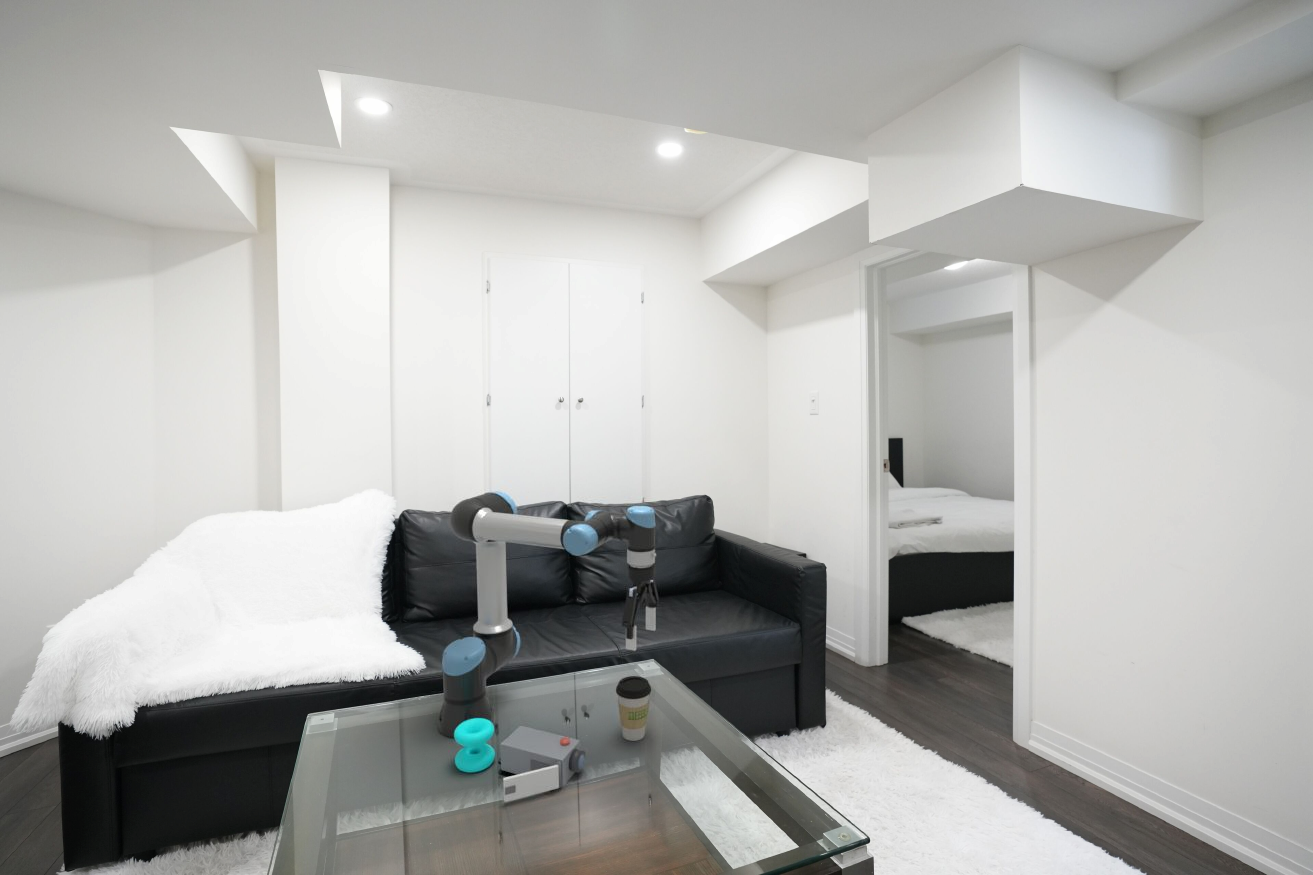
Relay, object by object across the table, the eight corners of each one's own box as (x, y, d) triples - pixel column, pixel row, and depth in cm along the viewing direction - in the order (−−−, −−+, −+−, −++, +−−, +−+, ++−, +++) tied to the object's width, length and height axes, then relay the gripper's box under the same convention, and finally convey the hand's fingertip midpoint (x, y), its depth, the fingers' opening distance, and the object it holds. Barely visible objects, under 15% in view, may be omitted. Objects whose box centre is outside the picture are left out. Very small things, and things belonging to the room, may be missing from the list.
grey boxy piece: (500, 770, 162) (499, 741, 161) (521, 749, 170) (520, 722, 169) (571, 789, 154) (570, 759, 153) (588, 767, 163) (588, 739, 162)
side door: (504, 804, 148) (504, 779, 148) (503, 800, 150) (502, 774, 149) (562, 789, 154) (562, 764, 153) (560, 785, 155) (560, 760, 154)
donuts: (451, 739, 158) (456, 717, 168) (452, 776, 159) (457, 753, 169) (492, 735, 160) (495, 714, 169) (493, 772, 161) (496, 749, 170)
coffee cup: (647, 746, 172) (647, 694, 170) (612, 742, 174) (611, 690, 172) (654, 726, 181) (654, 676, 180) (621, 722, 183) (620, 673, 182)
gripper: (635, 579, 159) (635, 660, 161) (670, 552, 182) (670, 624, 184) (608, 576, 161) (608, 655, 164) (646, 549, 184) (646, 620, 187)
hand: (641, 639), depth 174 cm, fingers open, 13 cm apart
